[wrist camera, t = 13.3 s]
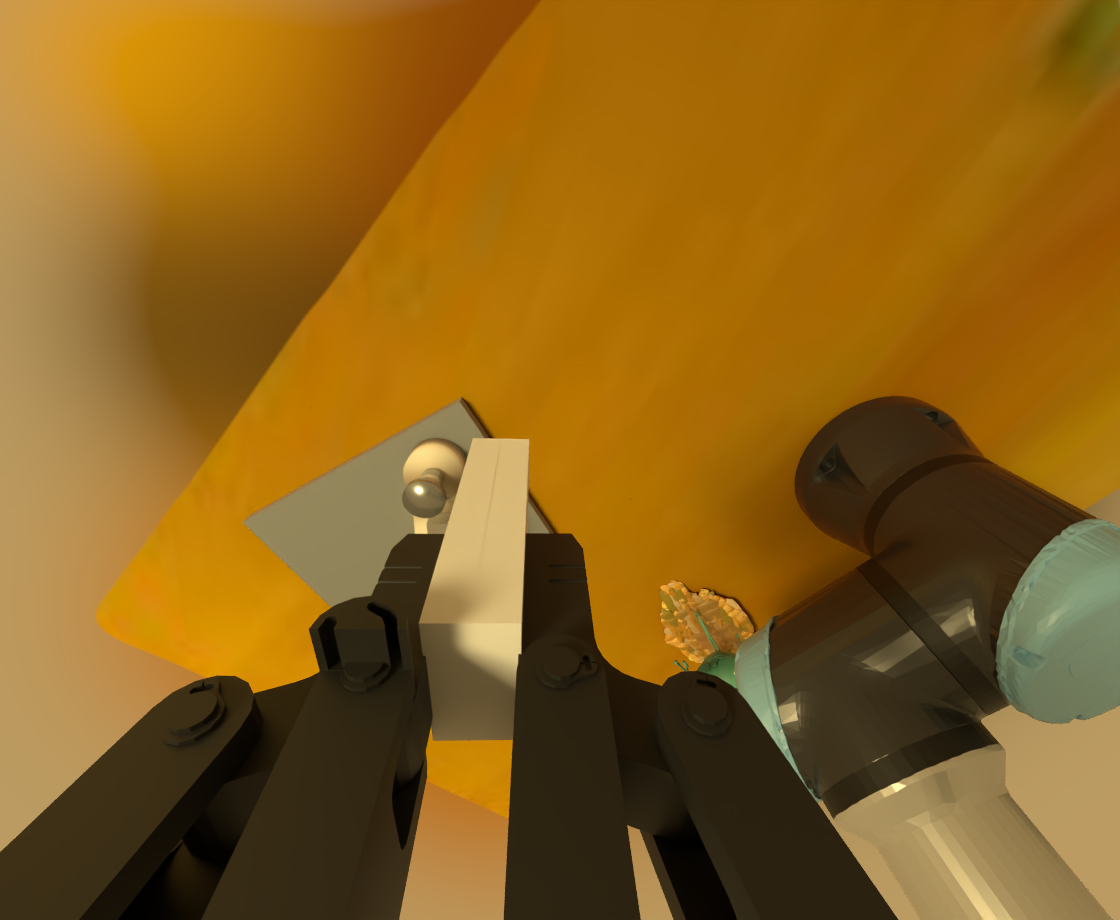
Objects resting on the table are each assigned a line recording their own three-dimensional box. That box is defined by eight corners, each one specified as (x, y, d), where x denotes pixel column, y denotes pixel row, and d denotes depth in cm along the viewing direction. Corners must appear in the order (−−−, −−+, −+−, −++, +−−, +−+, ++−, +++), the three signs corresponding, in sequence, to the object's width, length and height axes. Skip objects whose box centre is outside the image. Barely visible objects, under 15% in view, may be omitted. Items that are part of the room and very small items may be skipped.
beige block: (421, 440, 45) (399, 481, 38) (491, 440, 45) (482, 482, 38) (432, 535, 50) (414, 587, 43) (495, 534, 50) (488, 586, 43)
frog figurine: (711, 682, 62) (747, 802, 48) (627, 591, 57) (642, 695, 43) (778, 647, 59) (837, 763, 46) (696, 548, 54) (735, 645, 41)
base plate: (576, 565, 52) (577, 572, 51) (388, 651, 57) (386, 659, 56) (461, 397, 43) (459, 401, 42) (249, 515, 48) (242, 522, 46)
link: (407, 436, 43) (400, 448, 41) (466, 439, 43) (462, 450, 41) (421, 603, 52) (416, 619, 50) (470, 604, 52) (467, 620, 50)
